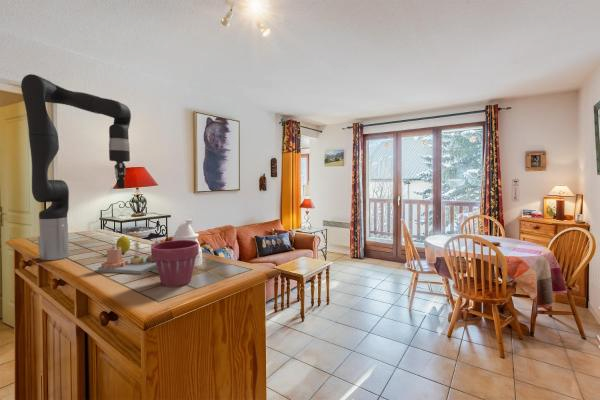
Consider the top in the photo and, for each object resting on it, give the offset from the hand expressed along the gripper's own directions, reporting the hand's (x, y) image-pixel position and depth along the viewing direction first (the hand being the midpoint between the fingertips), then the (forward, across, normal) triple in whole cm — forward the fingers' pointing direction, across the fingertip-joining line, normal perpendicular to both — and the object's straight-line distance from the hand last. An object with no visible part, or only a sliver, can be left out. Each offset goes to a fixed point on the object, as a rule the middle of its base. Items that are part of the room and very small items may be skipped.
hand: (120, 188), depth 128 cm
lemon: (+30, +6, -1) cm, 31 cm away
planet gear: (+29, -19, +4) cm, 35 cm away
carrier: (+30, -19, -4) cm, 36 cm away
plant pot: (+30, -47, -12) cm, 57 cm away
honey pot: (+30, -27, -20) cm, 45 cm away
